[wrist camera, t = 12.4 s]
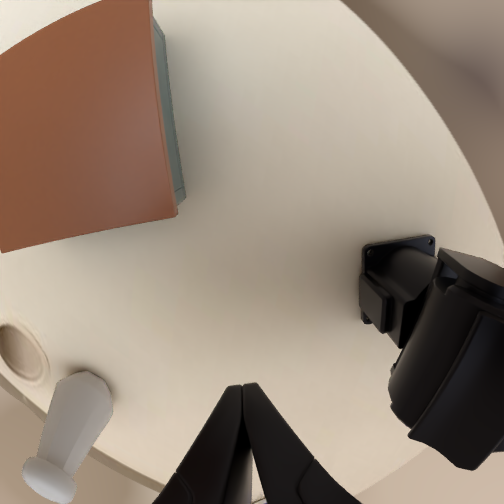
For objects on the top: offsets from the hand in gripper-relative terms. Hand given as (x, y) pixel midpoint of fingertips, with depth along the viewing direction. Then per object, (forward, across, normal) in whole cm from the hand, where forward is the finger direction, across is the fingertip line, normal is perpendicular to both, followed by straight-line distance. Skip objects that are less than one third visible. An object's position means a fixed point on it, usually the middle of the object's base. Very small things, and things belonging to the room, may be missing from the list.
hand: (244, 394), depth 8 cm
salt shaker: (+13, +16, +11) cm, 23 cm away
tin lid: (+7, +8, -10) cm, 14 cm away
